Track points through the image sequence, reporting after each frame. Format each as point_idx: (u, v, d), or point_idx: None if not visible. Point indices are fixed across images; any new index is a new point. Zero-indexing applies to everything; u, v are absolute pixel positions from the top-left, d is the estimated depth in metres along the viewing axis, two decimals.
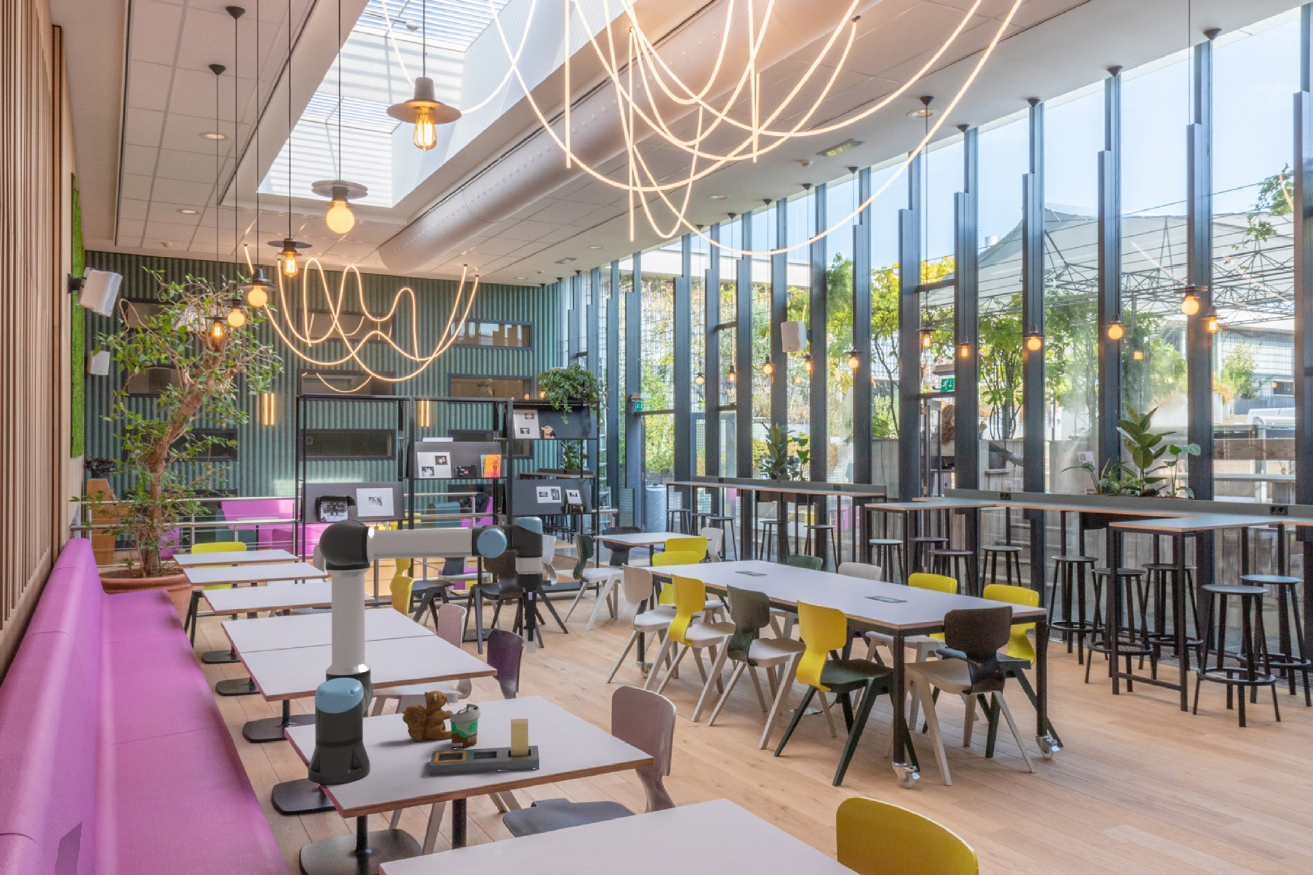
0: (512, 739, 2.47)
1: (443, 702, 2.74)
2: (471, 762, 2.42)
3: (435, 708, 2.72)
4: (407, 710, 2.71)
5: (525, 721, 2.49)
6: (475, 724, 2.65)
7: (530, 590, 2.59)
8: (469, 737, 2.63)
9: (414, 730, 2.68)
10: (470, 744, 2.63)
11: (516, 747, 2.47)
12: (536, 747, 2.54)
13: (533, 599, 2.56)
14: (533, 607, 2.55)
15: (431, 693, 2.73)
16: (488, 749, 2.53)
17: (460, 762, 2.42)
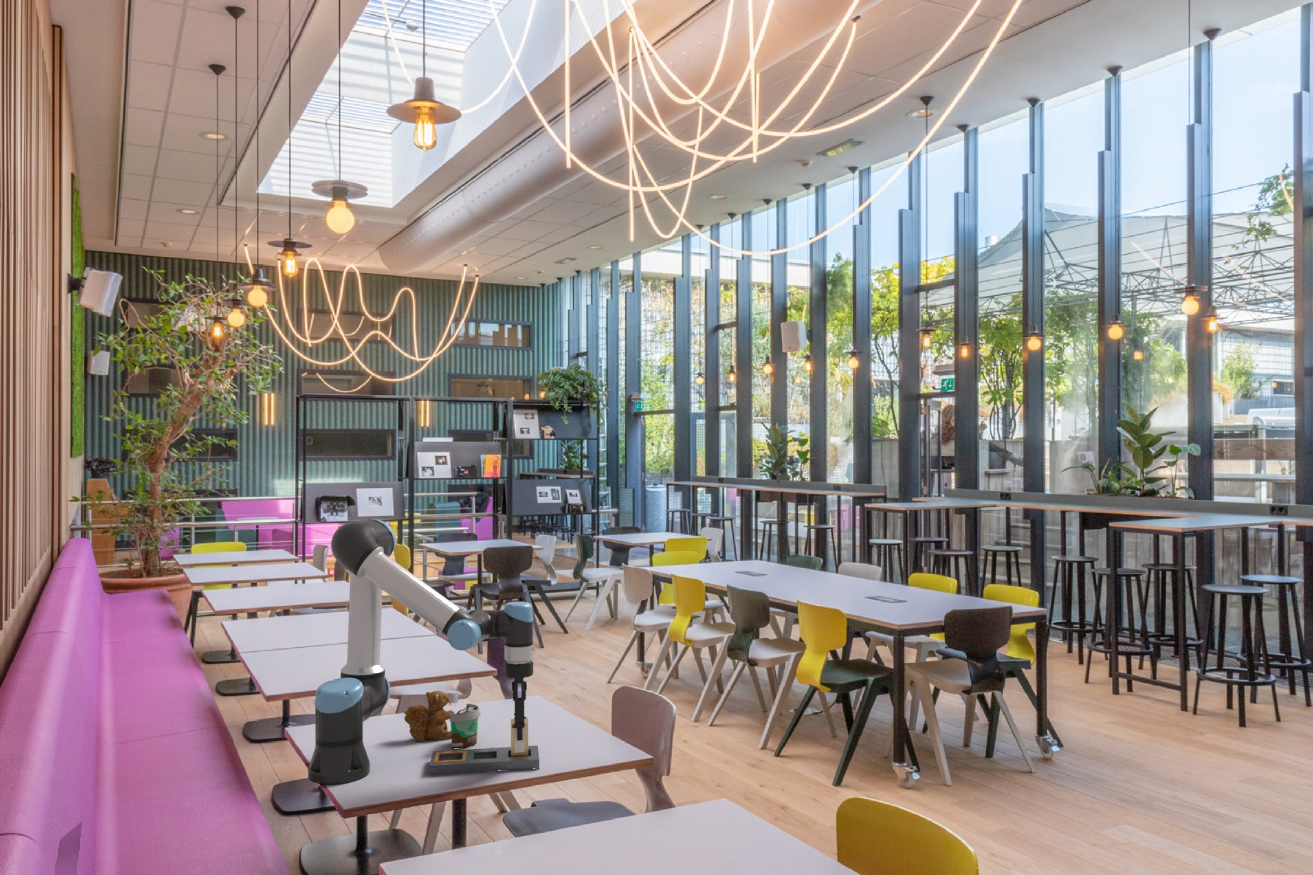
0: (512, 739, 2.47)
1: (445, 702, 2.74)
2: (471, 762, 2.42)
3: (437, 708, 2.72)
4: (409, 710, 2.71)
5: (525, 721, 2.49)
6: (475, 724, 2.65)
7: (519, 681, 2.46)
8: (469, 737, 2.63)
9: (416, 730, 2.68)
10: (470, 744, 2.63)
11: None
12: (536, 747, 2.54)
13: (522, 697, 2.44)
14: (522, 706, 2.44)
15: (433, 693, 2.73)
16: (488, 749, 2.53)
17: (460, 762, 2.42)
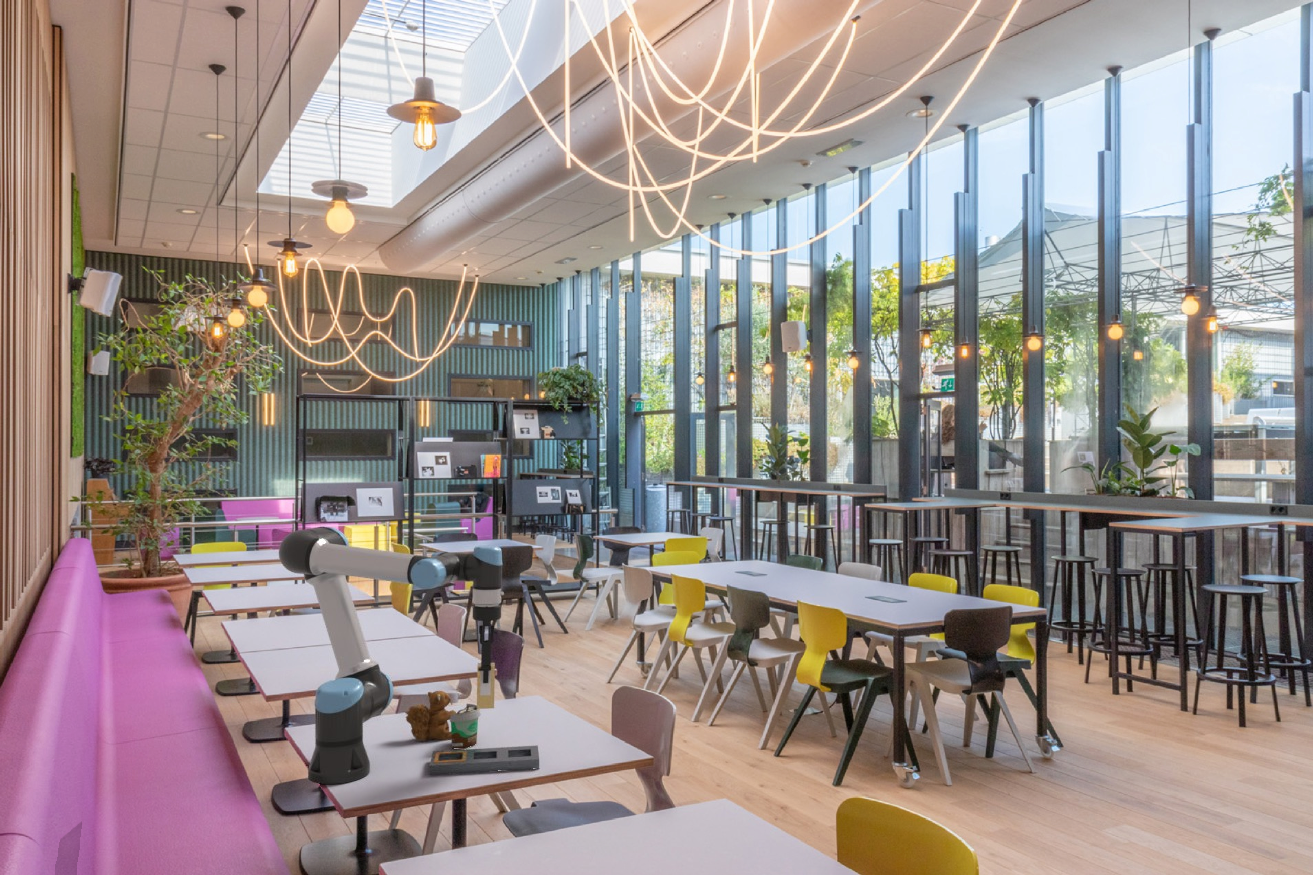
0: (478, 682, 2.46)
1: (446, 702, 2.74)
2: (471, 762, 2.42)
3: (439, 708, 2.72)
4: (410, 710, 2.71)
5: (492, 665, 2.48)
6: (475, 724, 2.65)
7: (487, 624, 2.45)
8: (469, 737, 2.63)
9: (418, 730, 2.68)
10: (470, 744, 2.63)
11: None
12: (536, 747, 2.54)
13: (489, 640, 2.43)
14: (489, 648, 2.43)
15: (434, 693, 2.73)
16: (488, 749, 2.53)
17: (460, 762, 2.42)
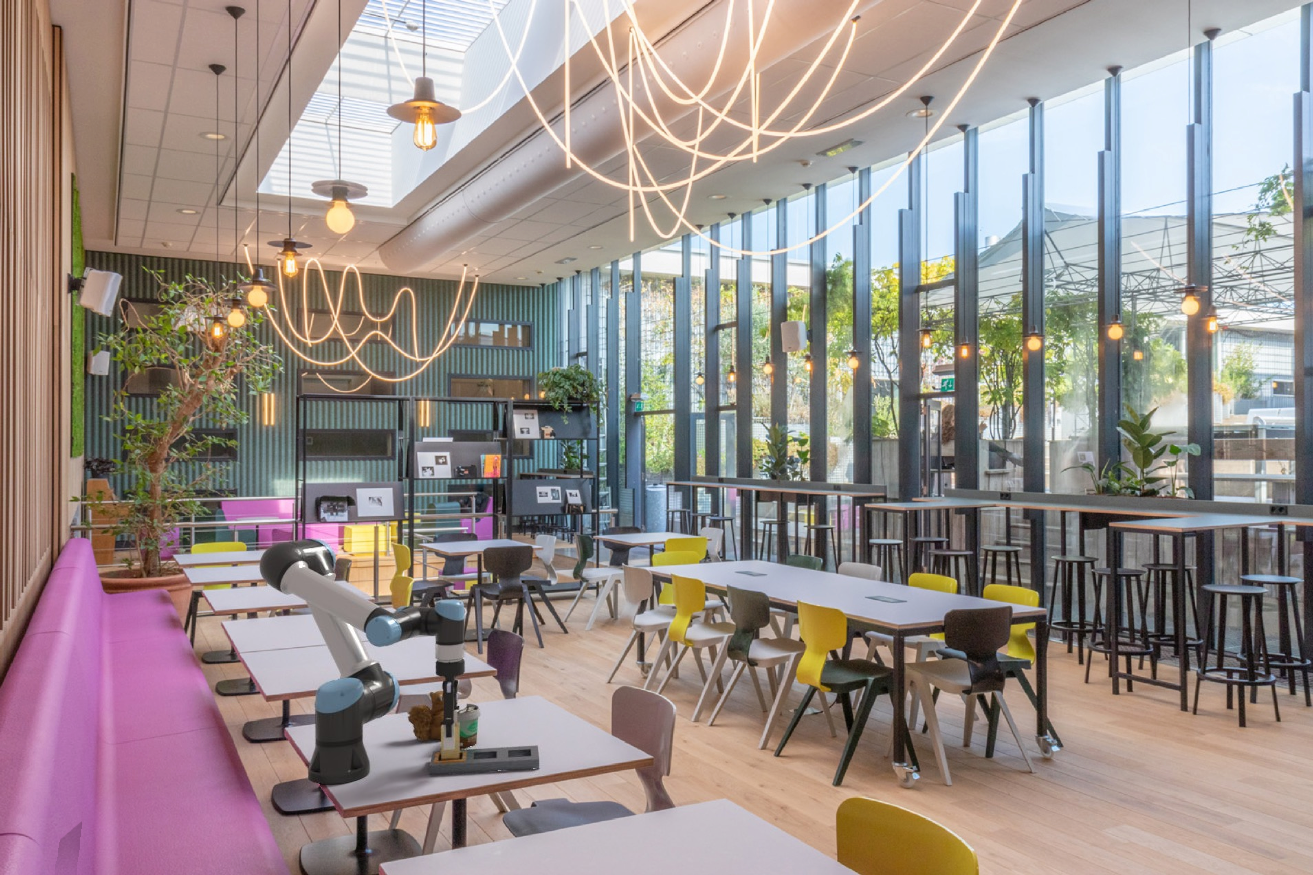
0: (442, 743, 2.44)
1: None
2: (471, 762, 2.42)
3: (441, 708, 2.72)
4: (413, 710, 2.70)
5: (456, 725, 2.46)
6: (475, 724, 2.65)
7: (450, 680, 2.43)
8: (469, 737, 2.63)
9: (420, 730, 2.68)
10: (470, 744, 2.63)
11: (446, 751, 2.44)
12: (536, 747, 2.54)
13: (452, 692, 2.40)
14: (451, 701, 2.39)
15: (436, 693, 2.73)
16: (488, 749, 2.53)
17: (460, 762, 2.42)
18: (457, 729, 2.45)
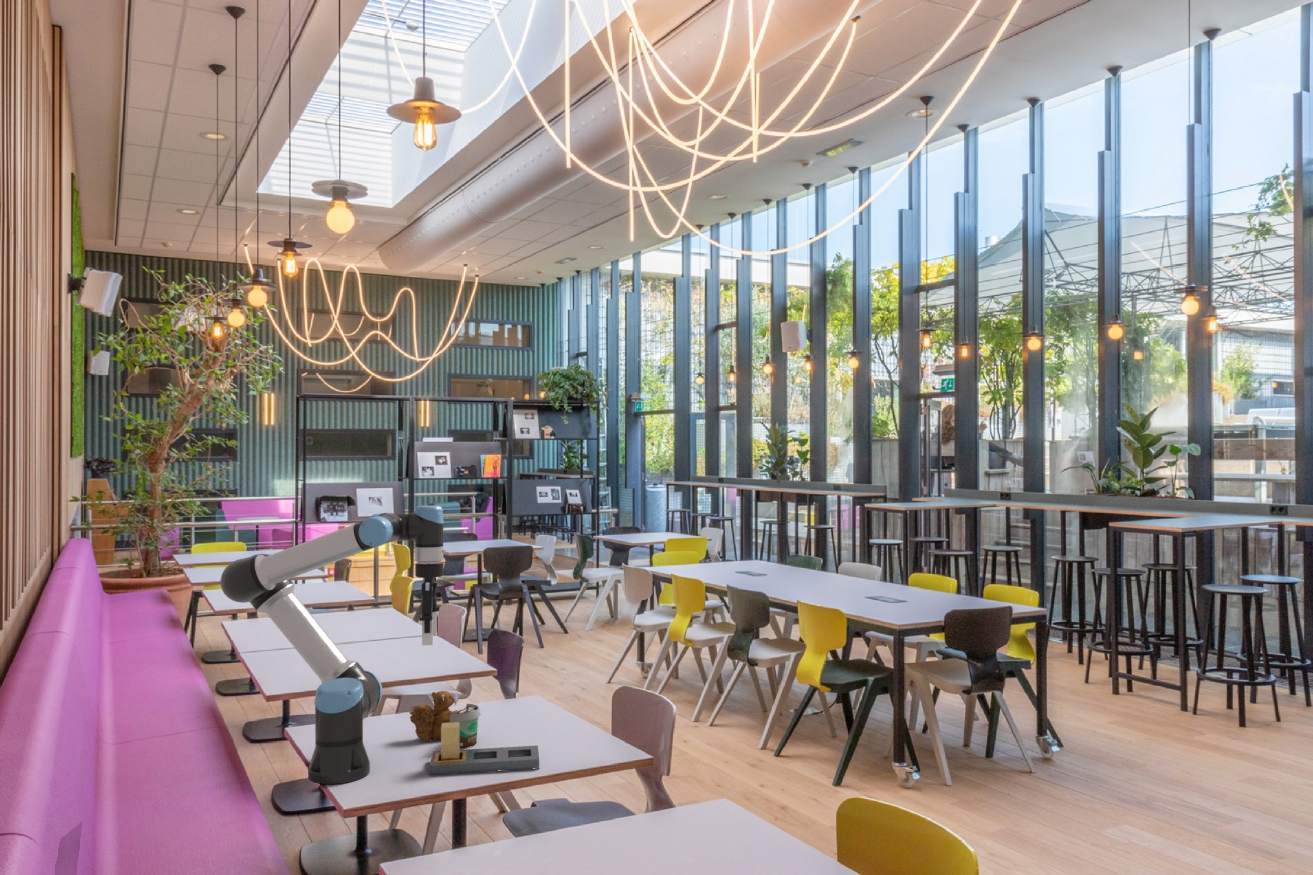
0: (442, 743, 2.44)
1: (450, 702, 2.74)
2: (471, 762, 2.42)
3: (443, 708, 2.72)
4: (415, 710, 2.70)
5: (456, 725, 2.46)
6: (475, 724, 2.65)
7: (428, 580, 2.52)
8: (469, 737, 2.63)
9: (422, 730, 2.68)
10: (470, 744, 2.63)
11: (446, 751, 2.44)
12: (536, 747, 2.54)
13: (430, 590, 2.49)
14: (430, 598, 2.48)
15: (439, 693, 2.73)
16: (488, 749, 2.53)
17: (460, 762, 2.42)
18: (457, 729, 2.45)
